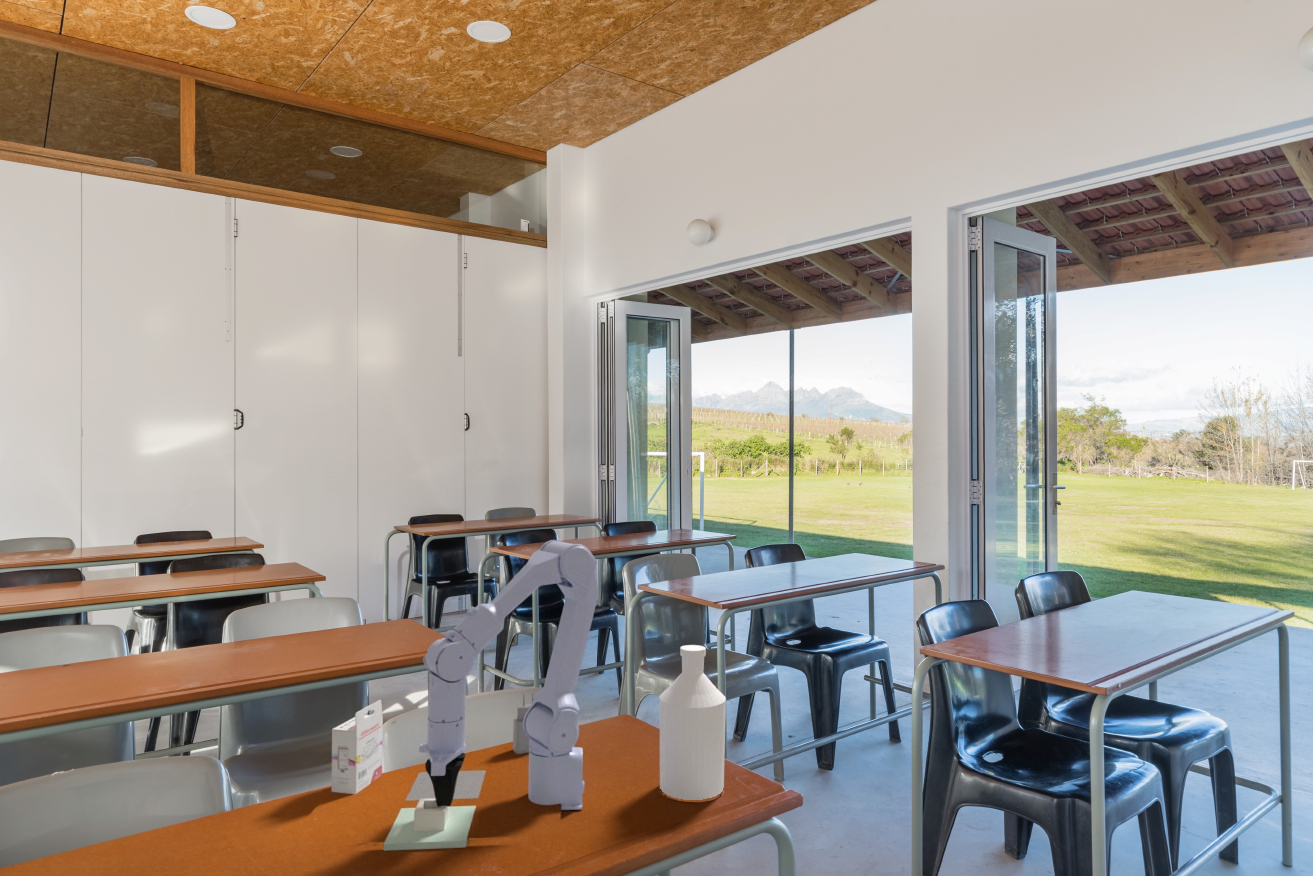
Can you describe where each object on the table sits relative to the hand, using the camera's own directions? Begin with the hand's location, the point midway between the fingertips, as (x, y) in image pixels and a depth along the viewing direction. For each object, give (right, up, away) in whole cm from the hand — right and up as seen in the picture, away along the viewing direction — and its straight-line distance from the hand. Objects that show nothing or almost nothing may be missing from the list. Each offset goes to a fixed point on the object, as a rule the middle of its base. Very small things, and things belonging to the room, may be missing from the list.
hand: (444, 804), depth 122 cm
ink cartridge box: (-20, -4, +15) cm, 25 cm away
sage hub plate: (-2, -4, 0) cm, 4 cm away
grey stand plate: (-3, -4, +15) cm, 16 cm away
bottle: (+40, -5, +16) cm, 43 cm away
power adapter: (+8, -5, +32) cm, 33 cm away
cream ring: (-2, -3, 0) cm, 3 cm away
